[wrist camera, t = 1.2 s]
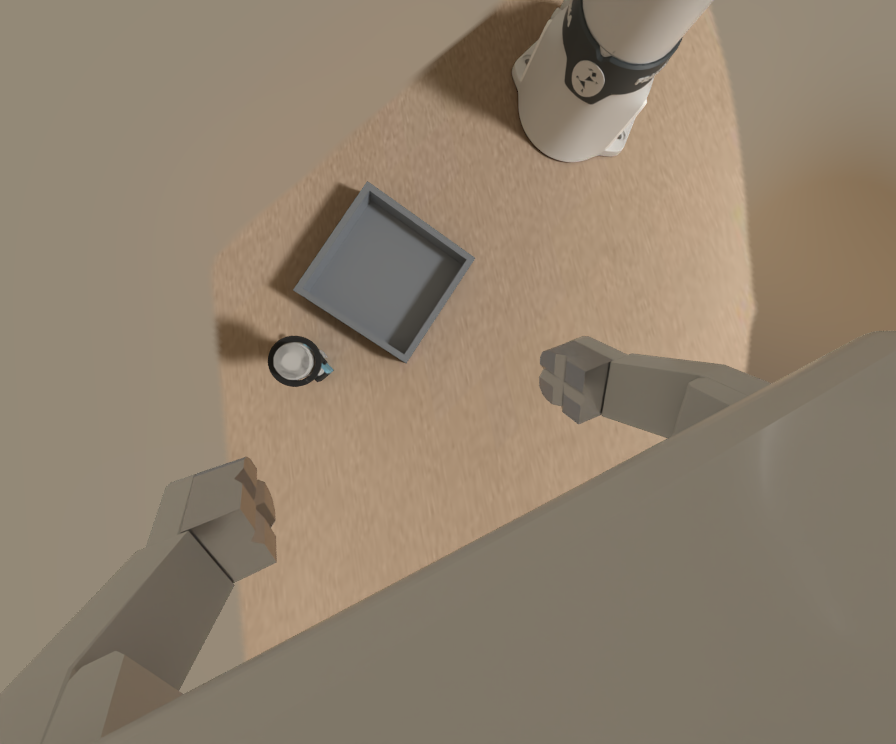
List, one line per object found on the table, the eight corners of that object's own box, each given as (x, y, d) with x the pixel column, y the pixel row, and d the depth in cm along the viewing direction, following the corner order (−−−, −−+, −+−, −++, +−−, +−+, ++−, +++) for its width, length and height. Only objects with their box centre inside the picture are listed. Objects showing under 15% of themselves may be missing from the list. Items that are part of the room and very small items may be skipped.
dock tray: (370, 195, 45) (367, 181, 41) (470, 265, 47) (475, 258, 43) (301, 295, 44) (293, 290, 41) (406, 363, 46) (406, 363, 43)
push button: (279, 352, 44) (242, 349, 34) (311, 325, 44) (284, 314, 35) (315, 390, 45) (289, 398, 35) (346, 363, 45) (329, 363, 35)
